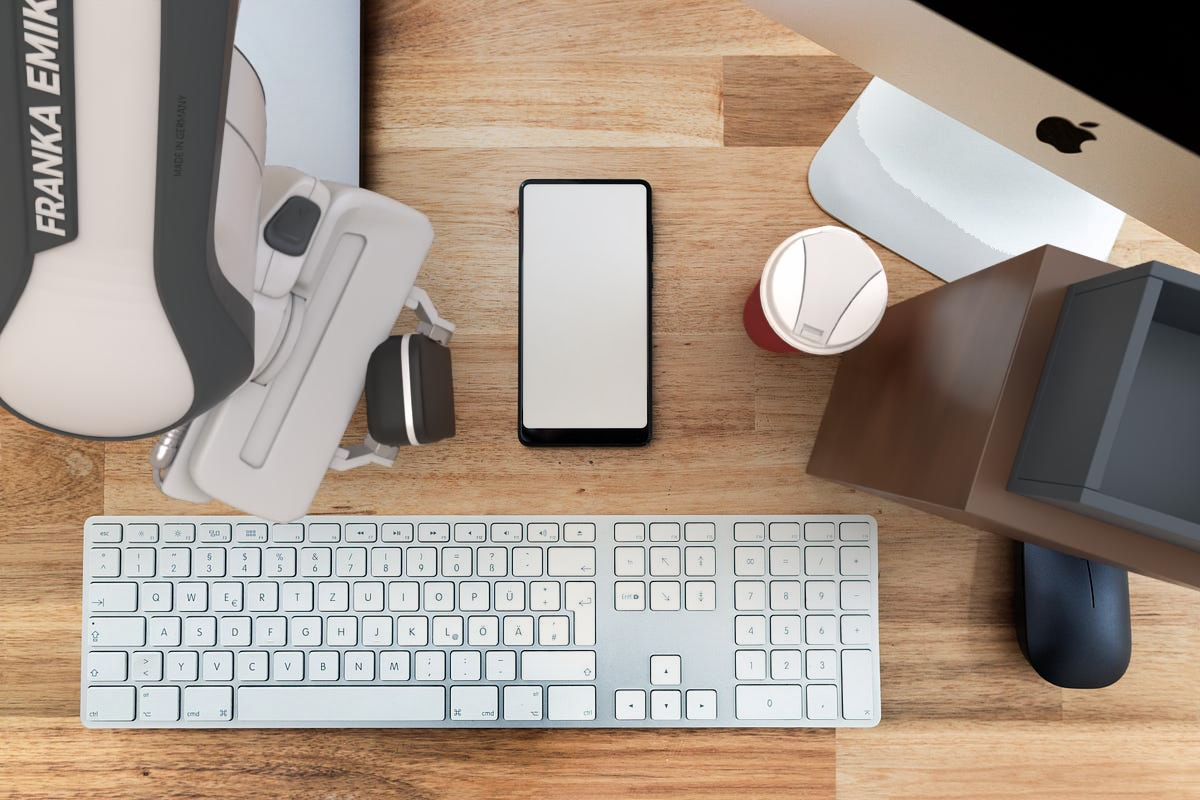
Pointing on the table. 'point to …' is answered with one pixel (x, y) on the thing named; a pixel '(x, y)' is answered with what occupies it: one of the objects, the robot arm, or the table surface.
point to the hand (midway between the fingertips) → (420, 393)
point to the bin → (1121, 406)
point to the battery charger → (410, 391)
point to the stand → (971, 412)
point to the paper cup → (817, 294)
